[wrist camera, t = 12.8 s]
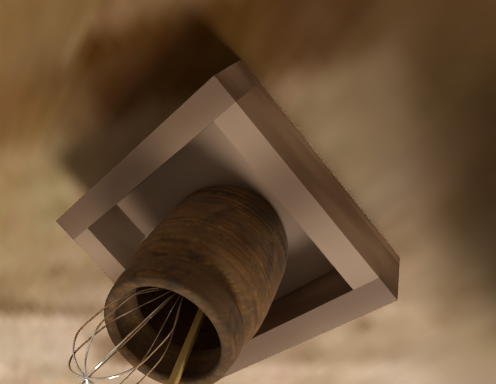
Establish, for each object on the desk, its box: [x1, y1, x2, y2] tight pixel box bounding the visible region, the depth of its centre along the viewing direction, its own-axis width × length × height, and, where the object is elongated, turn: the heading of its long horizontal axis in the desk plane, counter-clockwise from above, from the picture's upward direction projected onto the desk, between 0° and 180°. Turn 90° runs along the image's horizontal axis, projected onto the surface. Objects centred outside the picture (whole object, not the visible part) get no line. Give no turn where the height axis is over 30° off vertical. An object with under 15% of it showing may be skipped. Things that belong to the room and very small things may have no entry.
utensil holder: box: [68, 185, 288, 384], centre depth 18 cm, size 6×6×12 cm
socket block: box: [56, 60, 400, 378], centre depth 22 cm, size 11×11×4 cm
